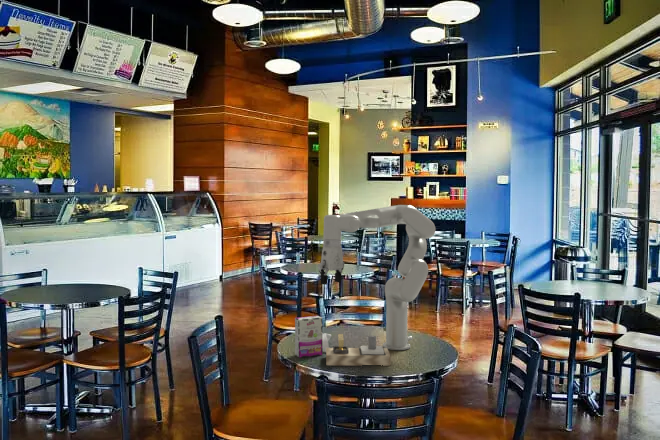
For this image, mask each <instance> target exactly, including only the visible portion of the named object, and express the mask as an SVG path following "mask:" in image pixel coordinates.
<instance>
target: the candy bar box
mask: <svg viewBox="0 0 660 440" xmlns="http://www.w3.org/2000/svg"><path fill="white" fill-rule="evenodd" d="M322 333H323V317H321V316H320V315H313V316H304V317H303V316H302V317H295V318H294V335H295V337H294V346H295V350H294V352H295V353H294V354H295V356H296V357H297V358H308V357H315V356H316V357H317V356H323V349H322Z"/></svg>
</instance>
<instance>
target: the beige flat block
mask: <svg viewBox="0 0 660 440" xmlns="http://www.w3.org/2000/svg"><path fill="white" fill-rule="evenodd" d="M382 348H383V350H384V354H362V353H361V347H349V346H345V345H344V346H343V349H346V350H336V349H339V345H338V346H337V345H335V346H334V345H333V347H329V348H326V352H325V353H326V354H325V356H326V357H325V359H326V360H325V361H326V363H325V364H326V366H362V365H381V366H382V365H383V367H385V366H387V367H390V366H391V353H390V350H389V349H387V348H384V347H382Z"/></svg>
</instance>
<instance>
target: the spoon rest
mask: <svg viewBox="0 0 660 440" xmlns="http://www.w3.org/2000/svg"><path fill="white" fill-rule="evenodd" d="M331 338H332V334H330V333H325V332H324V333H323V332H322V349H323V353H326V348H330V346H329V341H330V340H331Z"/></svg>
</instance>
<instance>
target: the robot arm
mask: <svg viewBox="0 0 660 440" xmlns="http://www.w3.org/2000/svg"><path fill="white" fill-rule="evenodd" d="M395 225H405V231H406V234H407V236H408V237H407V238H408V245H407V248H406V250H405V253H403V256H402V258H401V259H400V262H399V264H398V266H397V272H398V273H399V275H400V276H402V277H404V278H400V277H391V278H390V279H388V280H387V281H386V283H385V285H384V296H385V303H386V313H385V314H386V315H385V316H386V321H385V324H386V326H385V327H386V328H385V330H386V331H385V335H386V336H385V342H383V343H382V348H387V349H388V350H389V351H390V350H391V351H405V350H409V349H411V344H410V343H409V341H413V340H414V339H413V336H412V335H408V314H409V313H408V304H407V303H410V302H412V301H414V300H416V298H417V297H418V296H419V293H420V291H421V290H422V287H423V286H424V284H425V282H426V280H427V278H428V275H429V266H428V264H427V262H426V260H424V258H425V255H426V254H427V251H428V250H427V248H428V246H427V245H428V244H427V239H431V238H432V237H433V236H435V234H436V226H435V223H434V222H433V221H432V220H431V219H430V218H428V217H427V216H426V215H425V214H424V213H423V212H421V211H420V210H419V209H417V208H416V207H414V206H413V205H411V204H409V205H408V204H397V205H390V206H384V207H380V208H379V207H377V208H372V209H367V210H360V211H352V212H346V213H345V212H344V213H340V214H326V215H324V217H323V240H322V241H323V243H322V245H323V246H322V249H321V250H322V251H321V259H320V263H319V264H318V265H317V269H318V272H319V275H320V285H324V286H325V285H328V275H327V274H328V273H329V271H335V272H334V282H335V283H342V273H343V270H344V267H345V265H346V264H345V261H344V257H343V250H342V249H343V248H342V245H341V244H342V243H341V242H342V232H346V233H347V232H348V233H355V232H356V231H358V230H359V229H363V228H365V229H367V228H368V229H370V228H371V229H379V228H384V227H391V226H395Z"/></svg>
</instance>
